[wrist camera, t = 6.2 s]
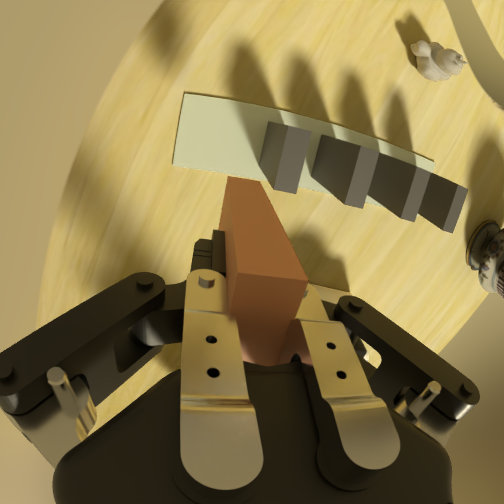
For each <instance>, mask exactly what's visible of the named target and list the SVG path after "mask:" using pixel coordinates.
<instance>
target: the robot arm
mask: <svg viewBox="0 0 504 504" xmlns="http://www.w3.org/2000/svg"><path fill="white" fill-rule="evenodd" d="M225 278H226V250H225V231H221V230H213V234H212V240H208V239H199V240H198V241H197V242H196V243H195V245H194V252H193V258H192V264H191V271H190V273H189V274H188V276H187V280H185V281H183V282H181V283H178V284H172V285H165V281H164V280H163V278H161V277H160V276H158V275H156V274H153V273H149V272H139V273H135V274H132V275H130V276H128V277H127V278H125V279H123V280H121V281H119V282H118V283H116V284H114V285H112V286H111V287H109V288H107V289H105V290H104V291H102V292H100V293H98V294H97V295H95V296H93V297H91V298H90V299H88V300H86V301H85V302H83V303H81V304H79V305H78V306H76V307H74V308H73V309H71V310H69V311H68V312H66V313H64V314H63V315H61V316H59V317H57V318H56V319H54V320H53V321H51V322H49V323H48V324H46V325H44V326H43V327H41V328H39V329H38V330H36V331H34V332H33V333H31V334H30V335H28V336H26V337H25V338H23V339H22V340H20V341H19V342H17V343H16V344H14V345H12V346H11V347H9V348H7V349H6V350H4V351H3V352H1V353H0V408H1V409H2V411H3V412H4V413H5V414H6V416H7V417H8V418H9V420H10V421H11V422H12V423H13V425H14V426H15V427H16V428H17V429H18V430H19V431H21V432H22V434H23V435H24V436H25V437H26V438H27V439H28V440H29V441H30V442H31V443H33V444H34V446H35V447H36V448H37V449H38V450H39V451H40V453H41V454H42V455H43V456H44V457H45V458H46V460H47V461H48V462H49V463H50V464H51V465H52V466H53V467H54V468H55V472H54V475H53V495H54V499H55V502H56V504H453V498H452V488H451V487H452V486H451V481H452V480H451V479H452V466H451V461H450V458H449V455H448V453H447V451H446V450H445V448H444V447H445V445H446V443H447V441H448V439H449V437H450V436H451V433H452V431H453V430H454V427H455V426H456V424H457V423H458V422H459V421H460V420H461V419H462V418H463V417H464V416H465V415H466V414H467V413H468V412H469V411H470V410H471V409H472V408H473V407H474V406H475V405H476V404H477V403H478V402H479V399H480V394H479V391H478V388H477V387H476V385H475V384H474V383H473V382H472V381H471V380H470V379H468V378H467V377H466V376H464V375H463V374H462V373H460V372H459V371H458V370H457V369H455V368H454V367H452V366H451V365H450V364H449V363H447V362H446V361H445V360H444V359H442V358H441V357H439V356H438V355H437V354H436V353H434V352H433V351H432V350H430V349H429V348H428V347H426V346H425V345H424V344H422V343H421V342H420V341H418V340H417V339H416V338H414V337H413V336H412V335H410V334H409V333H407V332H406V331H405V330H403V329H402V328H401V327H399V326H398V325H397V324H395V323H394V322H392V321H391V320H390V319H388V318H387V317H386V316H384V315H383V314H381V313H380V312H379V311H377V310H376V309H375V308H373V307H372V306H370V305H369V304H368V303H366V302H365V301H363V300H362V299H360V298H358V297H355V296H350V295H345V296H342V297H340V298H339V300H338V303H337V304H334V303H331V302H327V301H324V300H321V299H320V296H319V294H318V292H317V290H316V289H315V288H314V287H313V286H312V285H310V284H307V287H306V290H305V293H304V296H303V298H302V301H301V304H300V307H299V309H298V312H297V315H296V318H295V320H291V321H290V324H289V326H288V329H287V338H286V344H285V346H284V349H283V351H282V354H281V356H280V359H279V361H278V364H277V365H275V366H263V365H258V364H254V363H250V362H246V361H243V360H242V353H241V347H240V340H239V333H238V327H237V320H236V315H235V313H229V302H228V290H227V282H226V279H225ZM359 337H360V338H361V339H362V340H363V341H365V342H366V343H367V344H369V345H370V346H371V347H372V348H374V349H375V350H376V351H377V352H378V353H379V354H380V355H381V359H382V361H381V364H380V366H379V367H378V369H377V368H375V367H374V366H372V365H371V364H370V363H369V362H368V361H366V360H365V359H364V358H363V357H361V356H360V355H359V354H358V353H357V352H355V350H354V345H355V343H356V342H357V340H358V338H359ZM179 342H182V347H181V368H180V369H178V370H176V371H174V372H172V373H170V374H168V375H167V376H165V377H164V378H162V379H161V380H160V381H158V382H157V383H156V384H155V385H154V386H152V387H151V388H150V389H149V390H147V391H146V392H145V393H144V394H142V395H141V396H140V397H139V398H137V399H136V400H135V401H134V402H132V403H131V404H130V405H129V406H127V407H126V408H125V409H123V410H122V411H121V412H120V413H118V414H117V415H116V416H115V417H113V418H112V419H111V420H109V421H108V422H107V423H105V424H104V425H103V426H101V427H100V428H99V429H98V430H96V431H95V432H94V433H92V434H91V435H90V436H88V437H87V435H88V433H89V431H90V430H91V429H92V428H93V426H94V425H95V423H96V420H97V412H96V409H95V407H96V406H97V405H99V404H100V403H101V402H102V401H103V400H104V399H106V398H107V397H108V396H109V395H110V394H111V393H113V392H114V391H115V390H116V389H117V388H118V387H120V386H121V385H122V384H123V383H124V382H125V381H126V380H128V379H129V378H130V377H131V376H132V375H133V374H135V373H136V372H137V371H138V370H139V369H140V368H142V367H143V366H144V365H145V364H146V363H147V362H148V361H150V360H151V359H152V358H153V357H154V356H155V355H156V354H158V353H159V352H160V351H161V350H162V348H163V346H164V344H171V343H179Z"/></svg>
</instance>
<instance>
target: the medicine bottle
mask: <svg viewBox="0 0 504 504" xmlns="http://www.w3.org/2000/svg"><path fill="white" fill-rule="evenodd" d="M310 285H312V286H313V287H314V288H315V289H316V290H317V292H318V294H319V296H320V299H321V300H324V301H327V302H331V303H334V304H337V303H338V300H339V298H340V297H342V296H345V295H350V296H352V294H351V293H350V292H345V291H341V290H336V289H332V288H327V287H323V286H319V285H314V284H310ZM354 350H355V352H357V353H358V354H359V355H360V356H361V357H363V358H364V359H365V360H366V361H368V359H369V354H368V352H367V350H366V348H365V346H364V344H363V342H362V340H361V338H360V337H359V338H358V340H357V342H356V343H355V345H354Z"/></svg>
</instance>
